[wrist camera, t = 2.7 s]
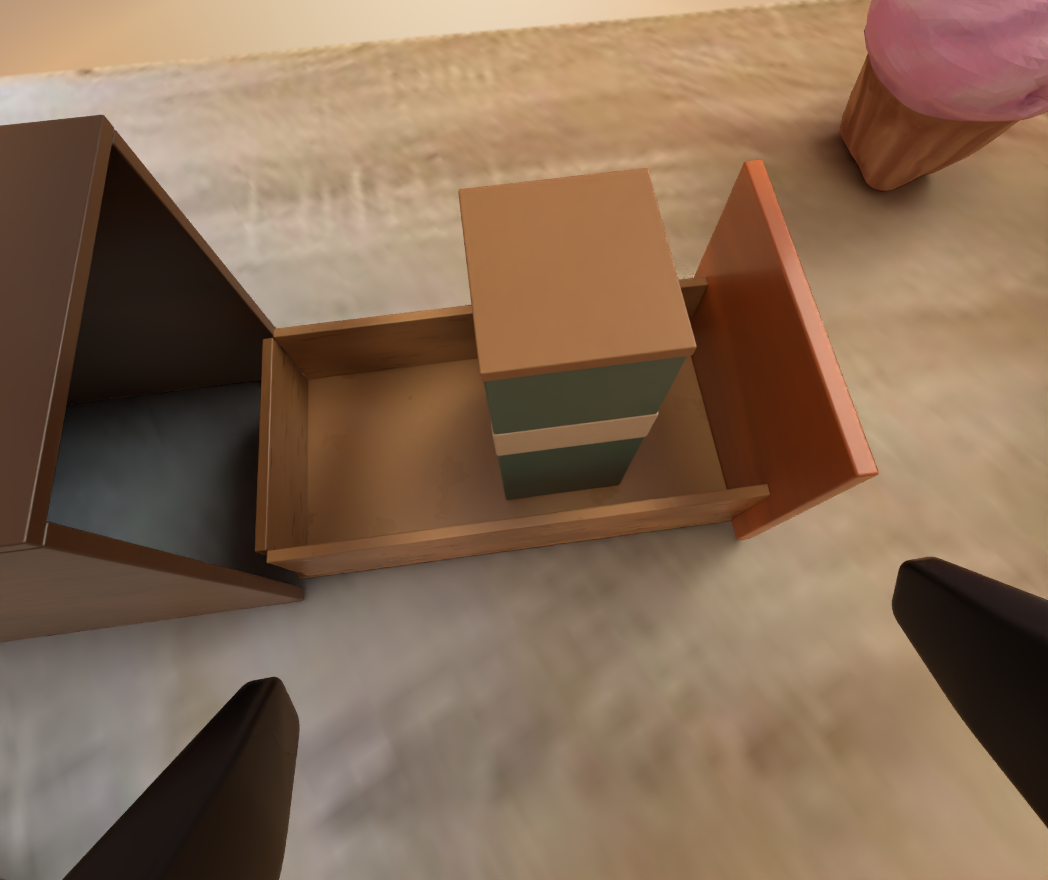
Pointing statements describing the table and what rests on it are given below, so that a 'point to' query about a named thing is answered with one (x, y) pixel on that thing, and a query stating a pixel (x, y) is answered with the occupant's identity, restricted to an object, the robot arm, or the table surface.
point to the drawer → (467, 442)
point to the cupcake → (943, 83)
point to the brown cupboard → (103, 368)
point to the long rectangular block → (572, 324)
